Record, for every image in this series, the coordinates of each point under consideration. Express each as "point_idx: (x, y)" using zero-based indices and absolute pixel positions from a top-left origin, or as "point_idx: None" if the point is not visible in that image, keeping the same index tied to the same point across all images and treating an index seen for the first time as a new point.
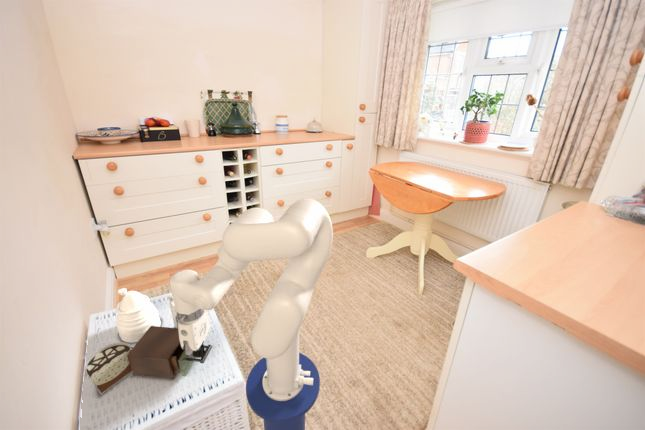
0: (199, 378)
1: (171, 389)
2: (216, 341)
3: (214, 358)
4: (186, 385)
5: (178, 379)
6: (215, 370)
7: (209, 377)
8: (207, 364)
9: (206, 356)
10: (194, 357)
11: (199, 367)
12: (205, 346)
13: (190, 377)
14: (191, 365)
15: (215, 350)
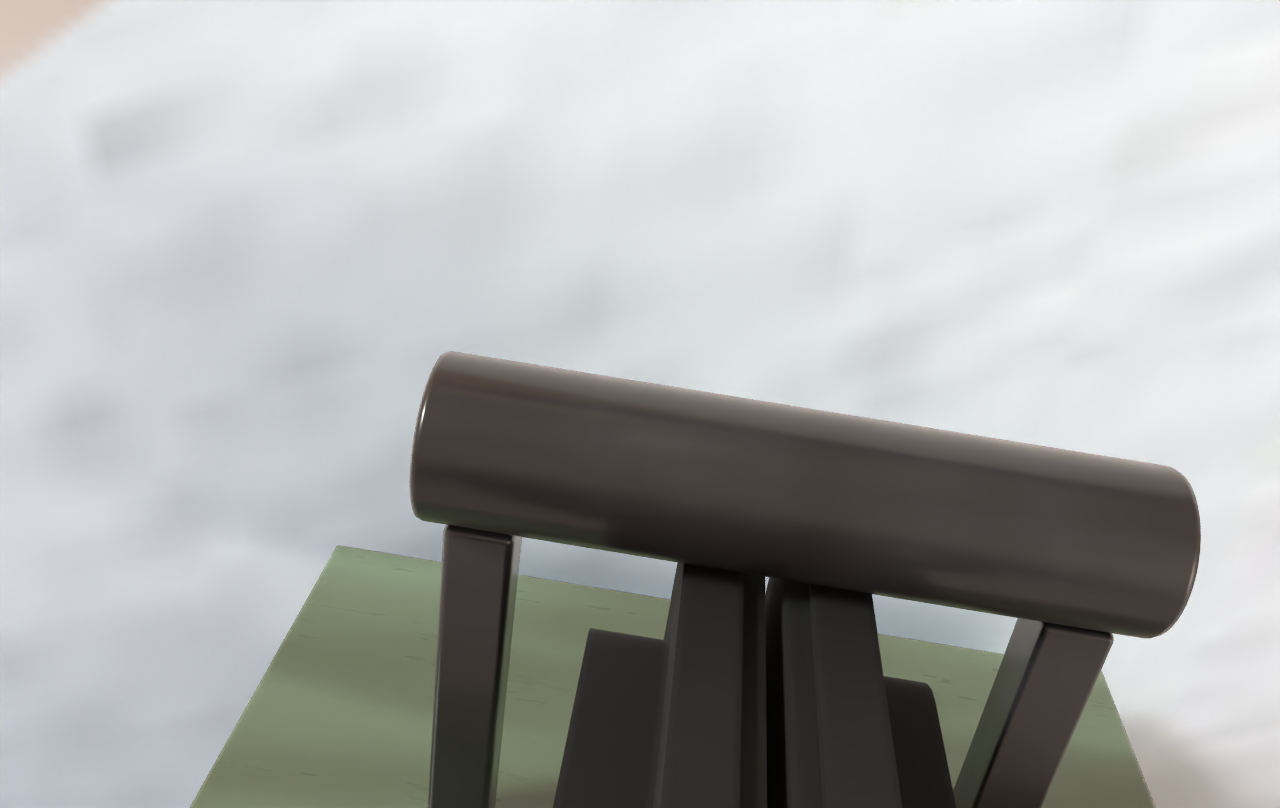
0: (1146, 365)
1: (1276, 791)
2: (37, 234)
3: (572, 150)
4: (1265, 577)
5: None
6: (975, 17)
7: (1178, 128)
8: (754, 282)
9: (950, 454)
10: None
11: None
12: (487, 588)
13: None
14: None
15: (317, 188)
